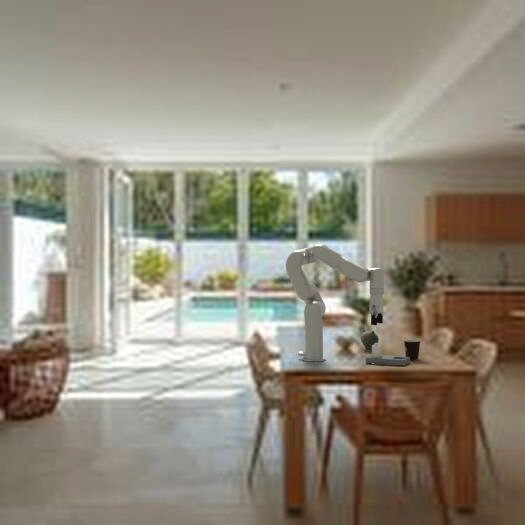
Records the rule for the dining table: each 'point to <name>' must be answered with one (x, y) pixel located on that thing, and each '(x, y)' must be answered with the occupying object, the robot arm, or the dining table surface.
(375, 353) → the plug
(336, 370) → the dining table surface
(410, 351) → the coffee mug
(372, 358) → the panel
